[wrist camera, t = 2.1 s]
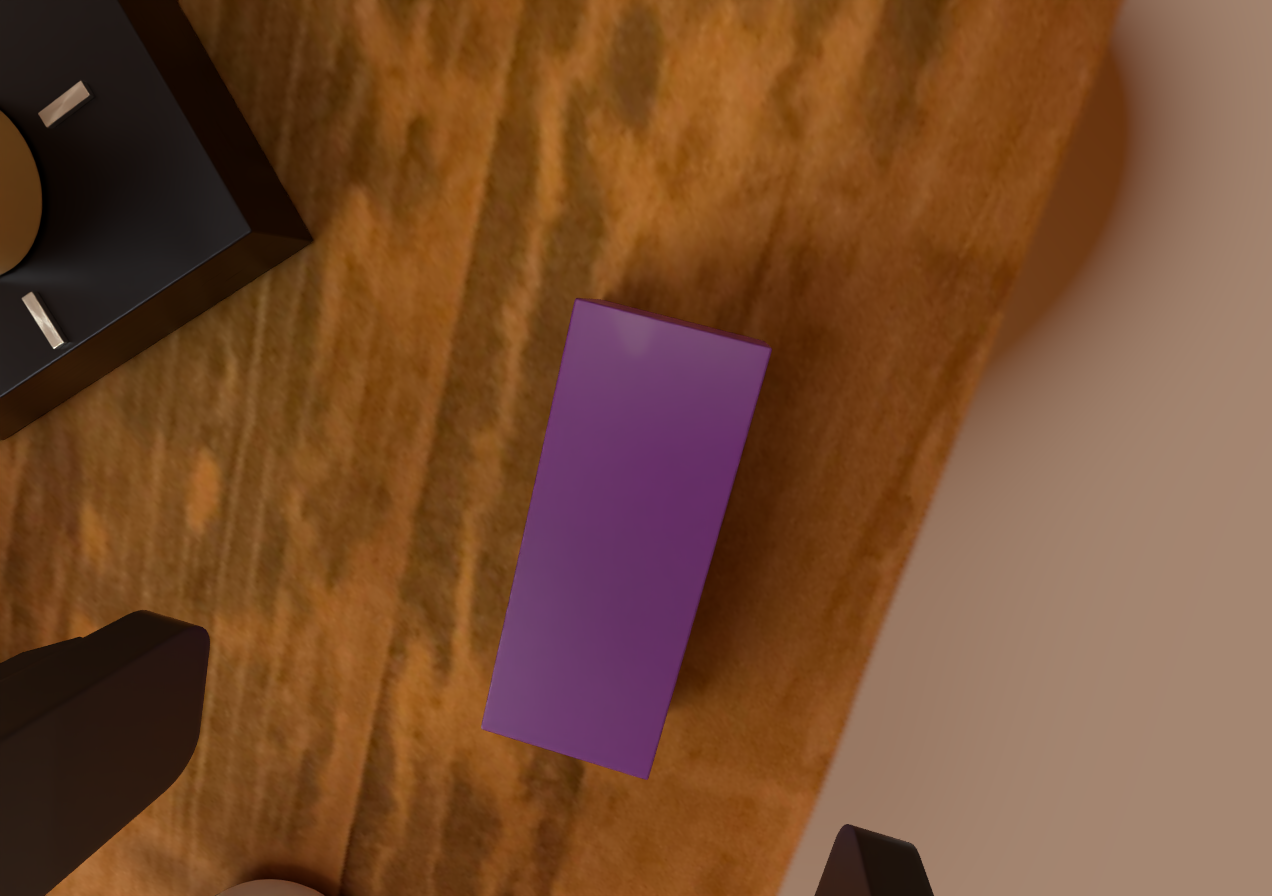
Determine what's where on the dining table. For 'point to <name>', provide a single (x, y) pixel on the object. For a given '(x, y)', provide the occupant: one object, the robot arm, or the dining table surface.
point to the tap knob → (17, 196)
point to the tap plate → (124, 193)
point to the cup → (270, 889)
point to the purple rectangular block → (621, 531)
